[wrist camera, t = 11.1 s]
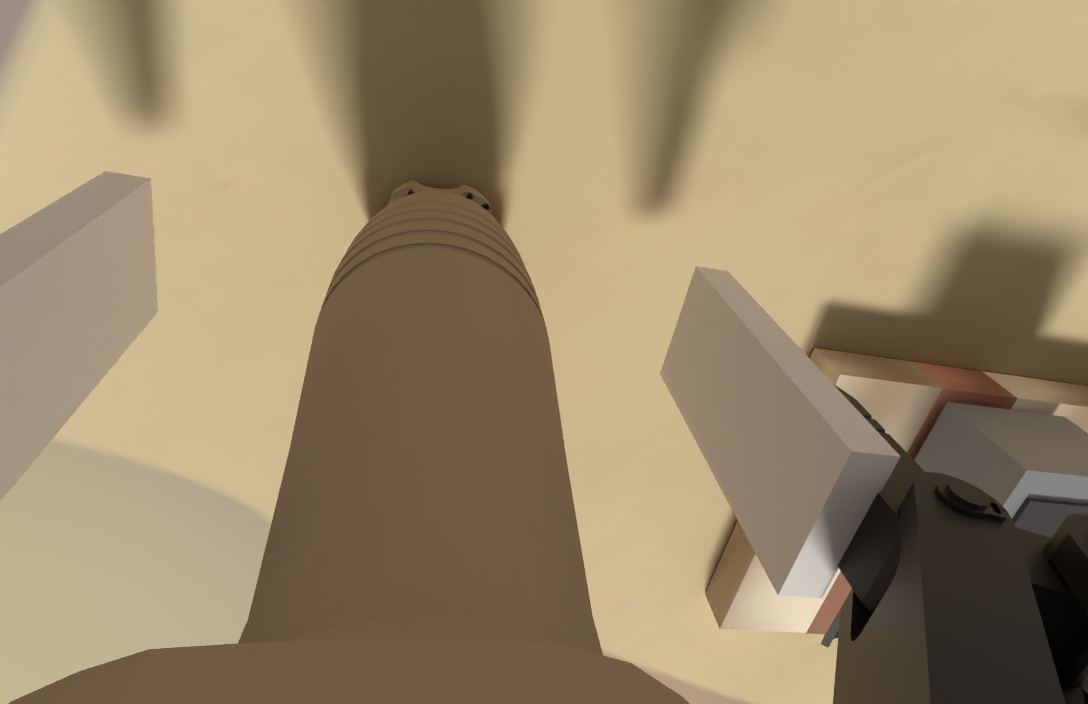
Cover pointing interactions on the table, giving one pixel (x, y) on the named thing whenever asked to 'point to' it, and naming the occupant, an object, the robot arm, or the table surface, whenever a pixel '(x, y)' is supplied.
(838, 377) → the plank
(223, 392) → the table surface
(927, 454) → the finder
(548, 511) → the handle
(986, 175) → the table surface
